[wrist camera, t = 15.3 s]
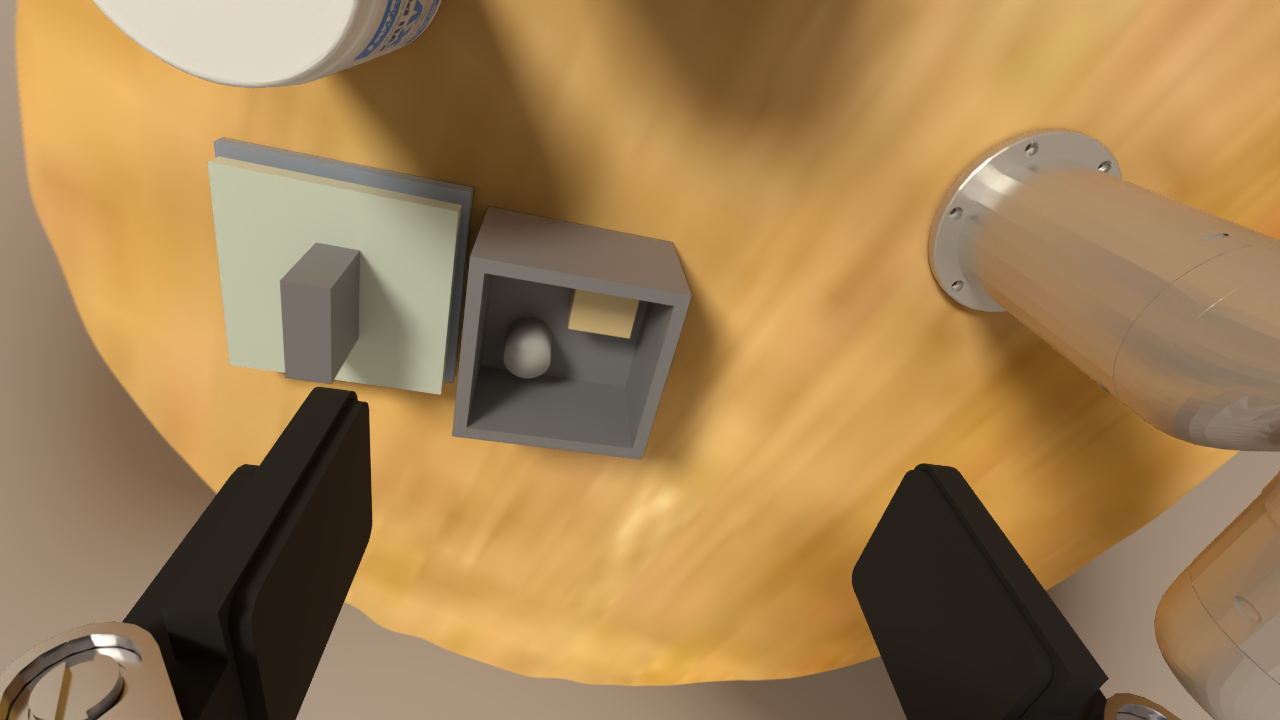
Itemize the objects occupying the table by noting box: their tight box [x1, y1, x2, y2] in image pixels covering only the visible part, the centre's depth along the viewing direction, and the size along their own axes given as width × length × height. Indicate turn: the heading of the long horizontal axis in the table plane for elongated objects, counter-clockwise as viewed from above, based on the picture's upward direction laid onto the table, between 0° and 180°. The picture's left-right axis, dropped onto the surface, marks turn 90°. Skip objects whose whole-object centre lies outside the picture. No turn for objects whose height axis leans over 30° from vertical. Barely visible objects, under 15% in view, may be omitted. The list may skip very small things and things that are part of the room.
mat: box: [214, 138, 474, 383], centre depth 40 cm, size 14×14×1 cm
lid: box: [208, 156, 462, 395], centre depth 36 cm, size 13×13×7 cm
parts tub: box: [452, 206, 692, 459], centre depth 40 cm, size 12×12×8 cm
